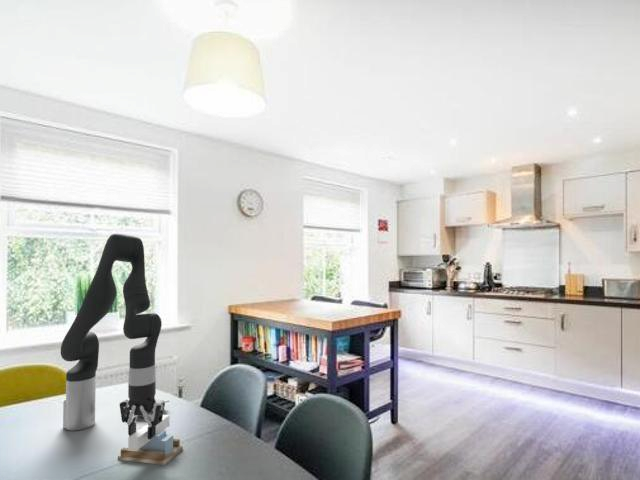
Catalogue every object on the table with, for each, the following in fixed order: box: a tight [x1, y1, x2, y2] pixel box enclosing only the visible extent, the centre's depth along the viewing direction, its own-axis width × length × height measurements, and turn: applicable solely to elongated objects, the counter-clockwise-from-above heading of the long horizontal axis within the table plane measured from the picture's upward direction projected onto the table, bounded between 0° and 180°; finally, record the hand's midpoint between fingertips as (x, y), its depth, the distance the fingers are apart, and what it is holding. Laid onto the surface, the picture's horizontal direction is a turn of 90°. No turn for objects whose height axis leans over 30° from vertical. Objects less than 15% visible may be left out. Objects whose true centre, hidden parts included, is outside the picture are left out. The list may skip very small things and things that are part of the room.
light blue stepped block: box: [140, 429, 174, 456], centre depth 121 cm, size 14×4×6 cm, turn 78°
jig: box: [117, 438, 184, 466], centre depth 121 cm, size 16×10×3 cm, turn 78°
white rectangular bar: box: [127, 414, 170, 450], centre depth 121 cm, size 3×16×4 cm, turn 168°
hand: (141, 437), depth 117 cm, fingers open, 5 cm apart
